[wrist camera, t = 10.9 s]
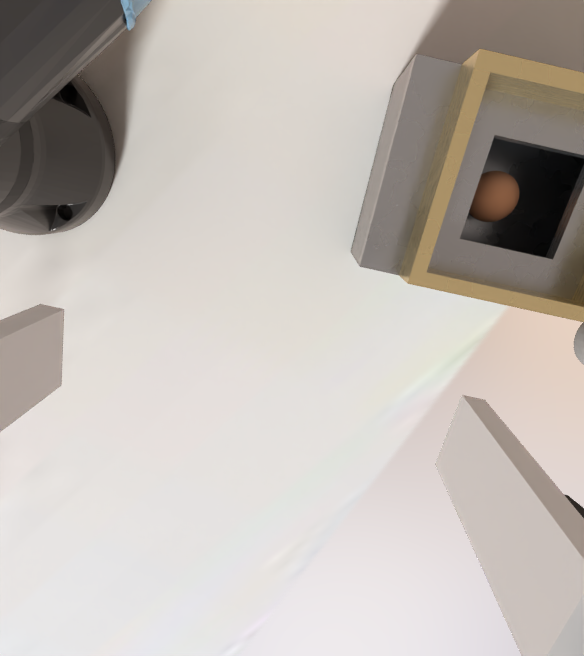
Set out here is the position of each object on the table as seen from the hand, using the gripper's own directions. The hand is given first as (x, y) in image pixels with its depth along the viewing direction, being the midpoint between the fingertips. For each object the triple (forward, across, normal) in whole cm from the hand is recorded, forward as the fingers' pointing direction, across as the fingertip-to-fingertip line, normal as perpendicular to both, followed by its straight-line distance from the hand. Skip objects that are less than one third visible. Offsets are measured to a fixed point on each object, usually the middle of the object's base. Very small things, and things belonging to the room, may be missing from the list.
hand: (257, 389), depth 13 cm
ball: (+26, +15, +9) cm, 31 cm away
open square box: (+27, +15, +9) cm, 32 cm away
